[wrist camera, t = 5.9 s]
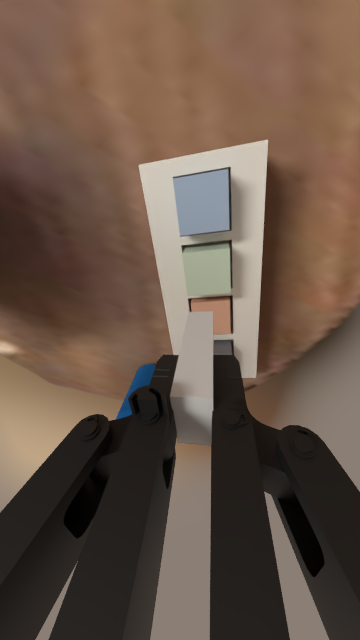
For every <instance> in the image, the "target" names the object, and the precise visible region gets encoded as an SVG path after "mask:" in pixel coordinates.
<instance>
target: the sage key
mask: <svg viewBox="0 0 360 640" xmlns="http://www.w3.org/2000/svg"><path fill="white" fill-rule="evenodd" d="M182 256H183V264H184V272H185V280H186V288H187V296H200V295H214V294H229V293H231V282H230V247H229V244H228V243H224V244H215V245H206V246H198V247H189V248H185V250H184V251H183V253H182Z"/></svg>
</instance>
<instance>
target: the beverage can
mask: <svg viewBox="0 0 360 640" xmlns="http://www.w3.org/2000/svg"><path fill="white" fill-rule="evenodd" d="M155 367H156V365H154V364H146V365H143V366H141V367H140V368H139V369H138V371H137V373H136V375H135V378H134V380H133V382H132V384H131V386H130V389H129V391H128V393H127V395H126V398H125V400H124V402H123V404H122V406H121V409H120V411H119V413H118V416H117V419H120V418H124V417H127V416H129V415H131V414H132V411H131V407H130V404H129V401H128V398H129V396H130V395H131V393H132V392H134V391H135V390H136V389H138V388H140V387H143V386H147V385H149V384H150V382H151V379H152V377H153V373H154V371H155Z"/></svg>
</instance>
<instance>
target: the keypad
mask: <svg viewBox="0 0 360 640" xmlns="http://www.w3.org/2000/svg"><path fill="white" fill-rule="evenodd" d="M267 151H268V140H264V141H259V142H254V143H249V144H243V145H238V146H233V147H228V148H223V149H218V150H213V151H208V152H203V153H197V154H192V155H187V156H182V157H177V158H172V159H167V160H162V161H157V162H151V163H146V164H141V165H139V170H140V175H141V181H142V186H143V192H144V197H145V203H146V208H147V213H148V219H149V224H150V230H151V235H152V241H153V246H154V251H155V257H156V262H157V268H158V273H159V279H160V284H161V290H162V295H163V300H164V306H165V311H166V317H167V322H168V328H169V333H170V338H171V344H172V349H173V355H179V352H180V348H181V343H182V339H183V334H184V330H185V325H186V321H187V316H188V312H192V309H191V300H192V298H201V297H216V296H229V298H230V326H231V334H213V336H214V340H230V341H231V349H232V355H234V356H235V357H236V358H237V360H238V361H239V363H240V369H241V375H242V378H256V371H257V351H258V331H259V311H260V291H261V271H262V251H263V231H264V211H265V191H266V171H267ZM225 169H228V185H229V230H223V231H215V232H207V233H199V234H191V235H183V236H180V232H179V224H178V216H177V208H176V200H175V192H174V184H173V179H174V178H179V177H185V176H191V175H196V174H202V173H208V172H213V171H219V170H225ZM224 243H228V244H229V247H230V282H231V293H229V294H214V295H200V296H187V288H186V280H185V272H184V264H183V256H182V253H183V251H184V250H185V248H189V247H198V246H206V245H215V244H224Z"/></svg>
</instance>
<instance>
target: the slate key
mask: <svg viewBox="0 0 360 640" xmlns="http://www.w3.org/2000/svg"><path fill="white" fill-rule="evenodd" d="M173 184H174V192H175V200H176V208H177V216H178V224H179V232H180V236H183V235H191V234H199V233H207V232H215V231H223V230H229V185H228V169H225V170H219V171H213V172H208V173H202V174H196V175H191V176H185V177H179V178H174V179H173Z"/></svg>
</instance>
